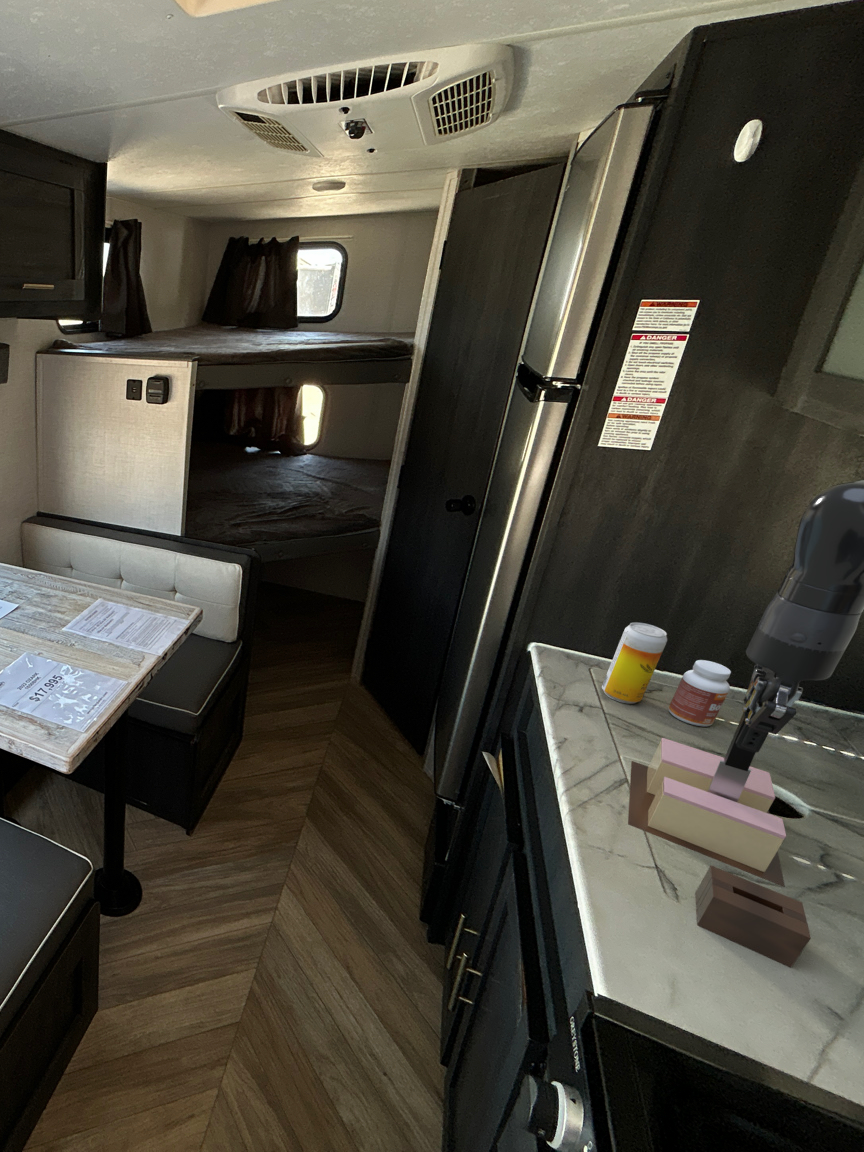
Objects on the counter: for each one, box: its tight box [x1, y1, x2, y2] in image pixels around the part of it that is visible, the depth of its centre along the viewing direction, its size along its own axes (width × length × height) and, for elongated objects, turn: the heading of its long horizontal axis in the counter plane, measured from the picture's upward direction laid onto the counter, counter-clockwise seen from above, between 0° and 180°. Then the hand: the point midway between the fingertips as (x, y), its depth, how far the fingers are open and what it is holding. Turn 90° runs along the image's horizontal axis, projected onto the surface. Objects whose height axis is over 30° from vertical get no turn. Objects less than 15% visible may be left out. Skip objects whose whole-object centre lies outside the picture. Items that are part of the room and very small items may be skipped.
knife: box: [707, 711, 756, 802], centre depth 87 cm, size 3×2×17 cm, turn 49°
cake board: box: [627, 760, 786, 888], centre depth 94 cm, size 16×18×1 cm
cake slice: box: [648, 777, 787, 872], centre depth 88 cm, size 12×4×7 cm, turn 48°
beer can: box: [601, 622, 668, 705], centre depth 120 cm, size 6×6×15 cm
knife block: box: [694, 865, 812, 969], centre depth 76 cm, size 8×6×6 cm
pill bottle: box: [668, 659, 732, 727], centre depth 115 cm, size 6×6×11 cm
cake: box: [647, 737, 776, 813], centre depth 95 cm, size 12×7×7 cm, turn 49°
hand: (745, 744), depth 86 cm, fingers closed on knife, 1 cm apart
